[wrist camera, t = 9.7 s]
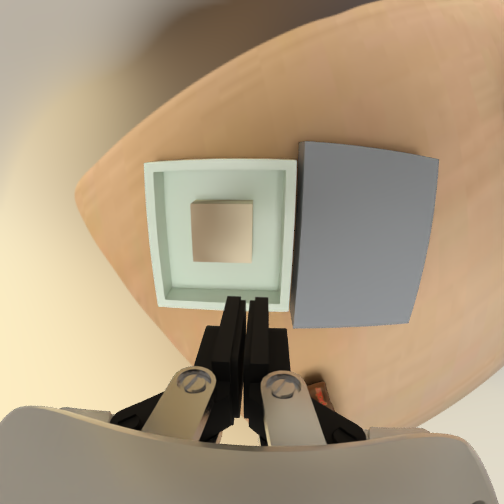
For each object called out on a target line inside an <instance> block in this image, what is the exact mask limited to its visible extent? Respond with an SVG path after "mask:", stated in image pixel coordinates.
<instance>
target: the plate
mask: <svg viewBox="0 0 504 504" xmlns="http://www.w3.org/2000/svg"><path fill="white" fill-rule="evenodd" d="M438 166H439V159H435V158H430V157H425V156H420V155H415V154H409V153H404V152H398V151H391V150H385V149H378V148H371V147H363V146H354V145H345V144H335V143H324V142H310V141H303V142H299V154H298V185H297V209H296V228H295V245H294V261H293V275H292V288H291V301H290V313H291V319H292V325H293V328H339V327H361V326H378V325H392V324H404V323H409V320H410V316H411V313H412V310H413V306H414V303H415V299H416V296H417V292H418V288H419V284H420V280H421V276H422V272H423V268H424V263H425V259H426V254H427V249H428V244H429V238H430V233H431V227H432V221H433V214H434V207H435V199H436V190H437V179H438Z"/></svg>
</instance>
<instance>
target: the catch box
mask: <svg viewBox="0 0 504 504" xmlns="http://www.w3.org/2000/svg"><path fill="white" fill-rule="evenodd" d="M296 175H297V160H294V159H271V158H209V159H182V160H165V161H154V162H147V163H144V178H145V196H146V210H147V222H148V233H149V243H150V252H151V260H152V268H153V276H154V283H155V289H156V296H157V302H158V307H172V308H187V309H206V310H224V308H225V304H226V300H227V296H241V300H246V311H249V304H250V300H255V297H268V308H269V312H288V310H289V298H290V285H291V272H292V257H293V240H294V222H295V201H296ZM195 200H253V241H252V263H222V262H193V251H192V233H191V210H190V204H191V203H192V202H193V201H195Z"/></svg>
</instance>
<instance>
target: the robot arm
mask: <svg viewBox="0 0 504 504" xmlns="http://www.w3.org/2000/svg"><path fill="white" fill-rule="evenodd" d="M243 388H244V418H249V427H250V428H251V429H252V430H254V431H255V432H256V433H257V434H258V441H259V446H242V445H228V444H219V443H220V440H221V437H222V431H223V430H224V429H226V428H228V427H229V426H231V425H233V424H234V418H239V417H240V410H241V400H242V390H243ZM0 504H498V500H497V497H496V494H495V491H494V488H493V486H492V483H491V481H490V478H489V476H488V474H487V471H486V469H485V467H484V465H483V463H482V461H481V459H480V458H479V456H478V454H477V453H476V451H475V450H474V448H473V447H472V446H471V445H470V444H469V443H468V442H467V441H465V440H464V439H462V438H460V437H458V436H454V435H449V434H439V433H430V432H429V431H427V430H425V429H423V428H378V427H370V428H369V430H363V429H362V428H361V427H359V426H358V425H357V424H355V423H353V422H352V421H350V420H348V419H346V418H345V417H343V416H341V415H339V414H338V413H336V412H334V411H333V410H331V409H329V408H328V407H326V406H325V405H323V404H321V403H320V402H318V401H316V400H315V399H313V398H312V397H310V394H309V392H308V389H307V386H306V383H305V381H304V380H303V378H302V377H300V376H299V375H298V374H296V373H294V372H291V371H290V359H289V348H288V337H287V329H286V328H269V308H268V297H255V300H250V304H249V313H248V323H247V332H246V300H241V296H227V300H226V304H225V308H224V312H223V316H222V320H221V324H220V326H206V329H205V332H204V335H203V338H202V341H201V345H200V348H199V351H198V354H197V358H196V361H195V364H194V366H191V367H186V368H183V369H181V370H180V371H178V372H177V373H176V374H175V375H174V376H173V378H172V380H171V381H170V383H169V385H168V387H167V388H166V390H165V391H164V392H162V393H160V394H158V395H155V396H153V397H151V398H149V399H146V400H144V401H142V402H140V403H137V404H135V405H132V406H130V407H128V408H125V409H123V410H121V411H119V412H117V413H116V414H115V415H114V414H111V413H110V411H97V410H86V409H77V408H69V407H64V408H60V409H57V408H52V407H45V406H24V407H19V408H16V409H14V410H13V411H11V412H10V413H9V414H8V415H7V416H6V417H5V418H4V419H3V420H2V421H1V422H0Z"/></svg>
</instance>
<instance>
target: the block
mask: <svg viewBox="0 0 504 504" xmlns="http://www.w3.org/2000/svg"><path fill="white" fill-rule="evenodd" d="M190 210H191V233H192V251H193V262H222V263H252V241H253V200H195V201H193V202H192V203H191V204H190Z"/></svg>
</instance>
